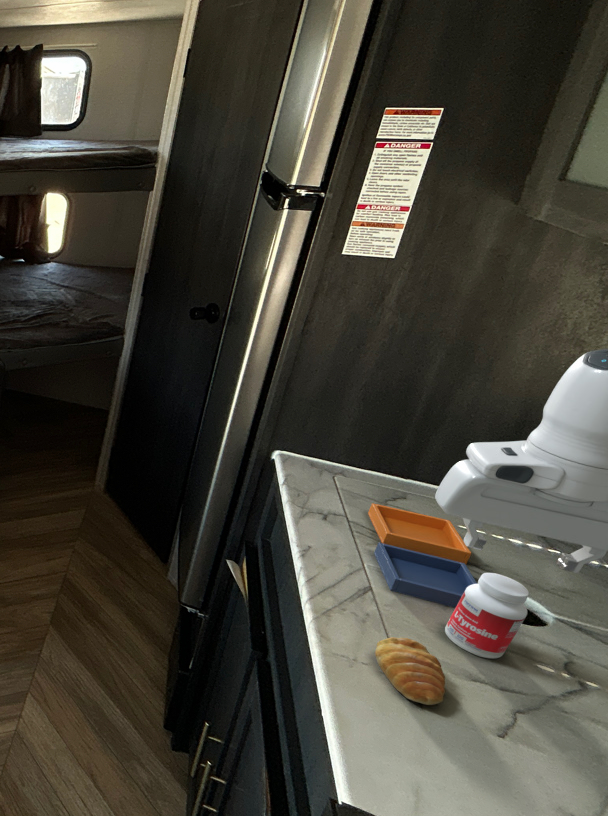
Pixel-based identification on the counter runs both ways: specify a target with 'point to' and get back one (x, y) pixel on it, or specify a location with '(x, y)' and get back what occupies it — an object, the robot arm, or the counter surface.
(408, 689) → the pastry
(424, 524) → the amber tray
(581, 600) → the counter surface
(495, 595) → the pill bottle
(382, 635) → the counter surface
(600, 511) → the robot arm
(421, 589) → the blue tray
